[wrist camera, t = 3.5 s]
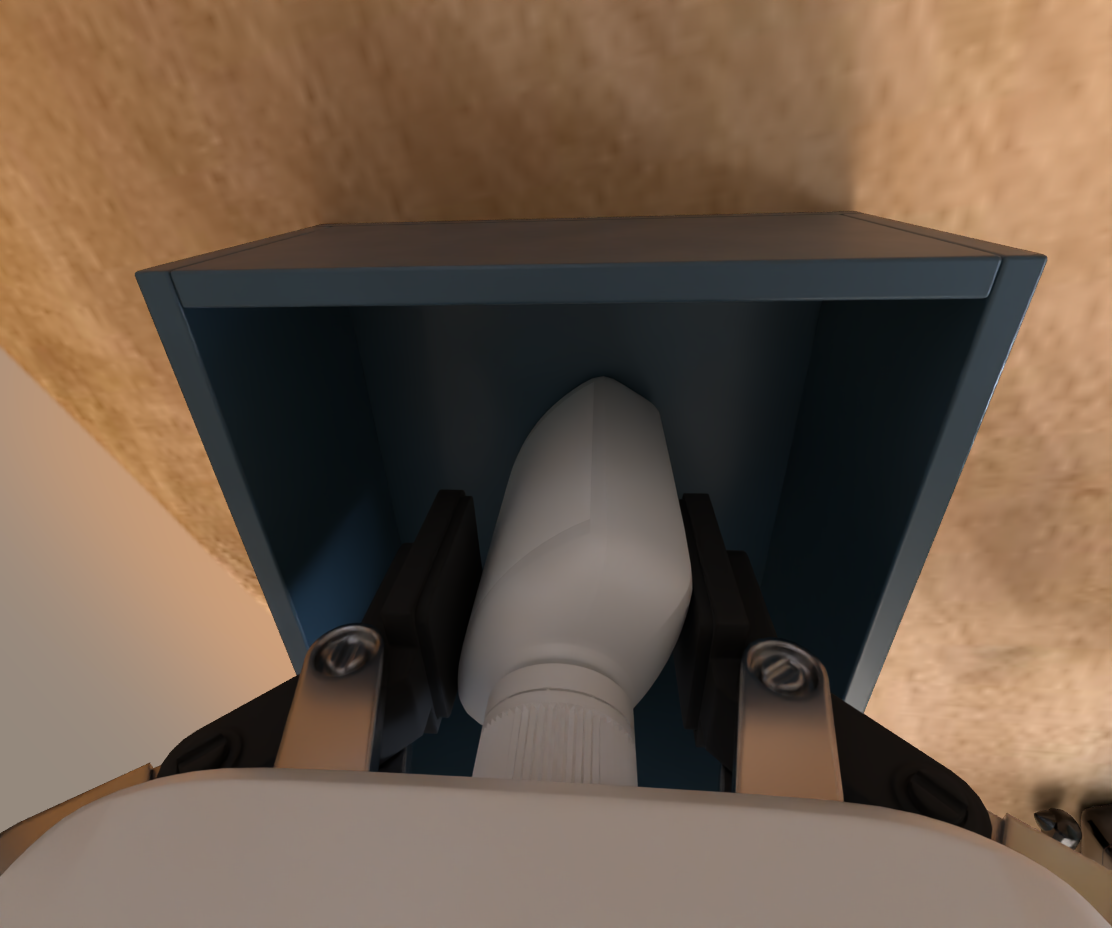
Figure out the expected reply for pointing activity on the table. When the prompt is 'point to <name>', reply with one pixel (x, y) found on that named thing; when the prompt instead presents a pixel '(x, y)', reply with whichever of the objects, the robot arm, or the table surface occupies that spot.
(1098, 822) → the wireless earbuds
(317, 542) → the chest
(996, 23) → the table surface
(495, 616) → the eye dropper bottle
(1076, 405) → the table surface
